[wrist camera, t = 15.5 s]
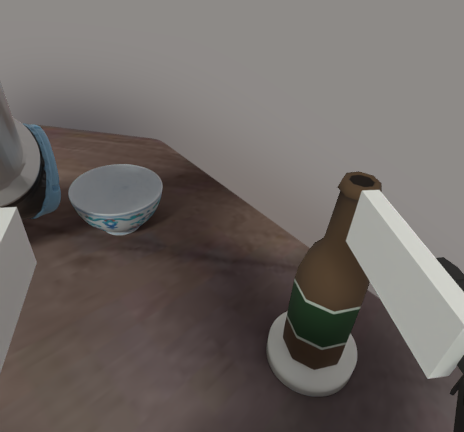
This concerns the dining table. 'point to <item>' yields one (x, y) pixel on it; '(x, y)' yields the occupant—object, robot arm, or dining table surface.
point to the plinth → (303, 376)
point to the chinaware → (116, 197)
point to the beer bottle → (328, 285)
